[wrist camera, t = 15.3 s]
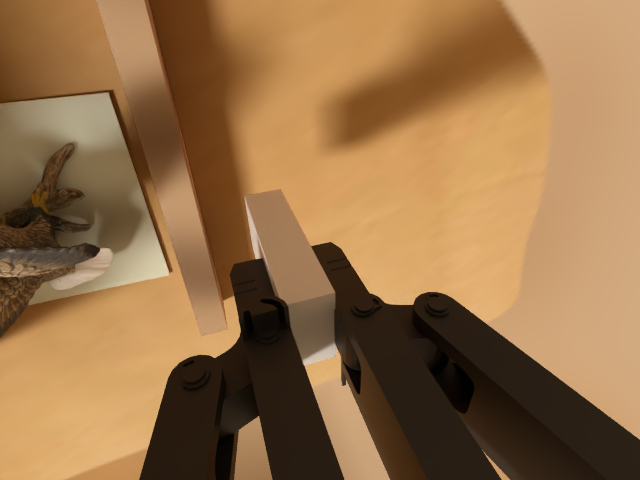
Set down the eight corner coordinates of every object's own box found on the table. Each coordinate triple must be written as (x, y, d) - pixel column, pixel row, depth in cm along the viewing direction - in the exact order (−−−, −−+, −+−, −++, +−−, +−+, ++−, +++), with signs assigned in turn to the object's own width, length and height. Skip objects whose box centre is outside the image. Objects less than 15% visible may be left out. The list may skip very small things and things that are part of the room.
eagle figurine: (-47, 99, 15) (-244, 201, 8) (146, 169, 18) (135, 282, 11) (-77, 255, 17) (-246, 443, 10) (98, 289, 21) (64, 444, 14)
